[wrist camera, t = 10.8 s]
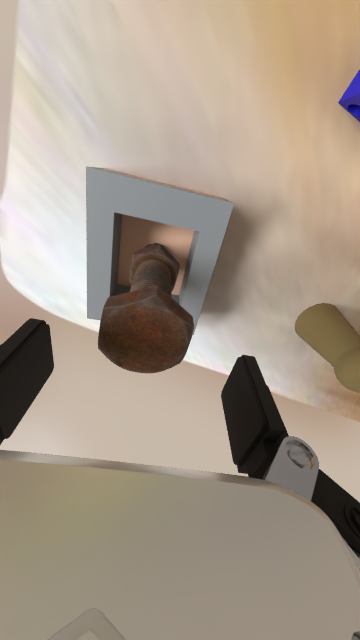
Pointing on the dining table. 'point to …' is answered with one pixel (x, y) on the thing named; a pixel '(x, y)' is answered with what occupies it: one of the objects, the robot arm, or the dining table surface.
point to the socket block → (150, 235)
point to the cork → (332, 341)
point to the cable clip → (352, 97)
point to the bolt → (147, 316)
